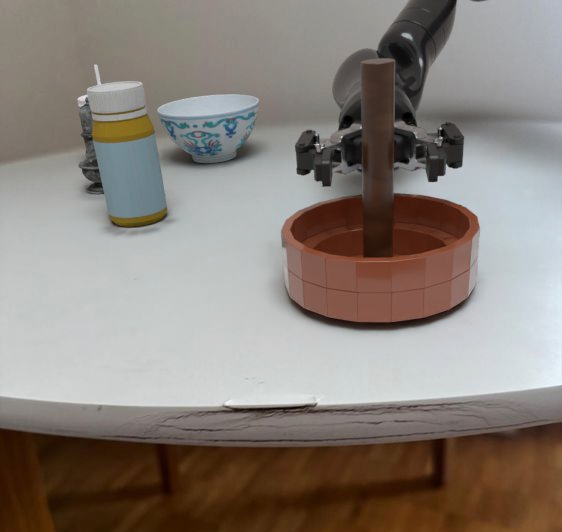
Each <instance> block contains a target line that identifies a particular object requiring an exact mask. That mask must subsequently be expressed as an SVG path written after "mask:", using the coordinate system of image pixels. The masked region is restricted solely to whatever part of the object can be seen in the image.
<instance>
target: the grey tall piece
mask: <svg viewBox="0 0 562 532" xmlns="http://www.w3.org/2000/svg"><path fill="white" fill-rule="evenodd" d="M85 101H86V104H84V105H83V106H82V107H79V109H78V116H79V120H80V125H81V130H82V132H81V133H80V137H81V138H82V139H83V142H84V146H85V159H84V160H82V161H80V162H79V163H78V168H79V169H81V172H82V174H83V176H84V177H85V179H86V180H88V181H89V182H92V183H90V184H89V185H88V187H86V189H85V191H86V193H88V194H90V195H91V194H92V195H104V190H103V186H102V181H101V176H100V172H99V167H98V162H97V157H96V153H95V148H94V143H93V137H92V129H93V118H92V111H91V109H90V105H89V100H88V98H87V97H86V98H85Z"/></svg>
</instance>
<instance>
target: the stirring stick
mask: <svg viewBox="0 0 562 532" xmlns="http://www.w3.org/2000/svg"><path fill="white" fill-rule="evenodd" d="M394 123H395V60H394V59H389V58H379V59H369V60H364V61H362V62H361V126H362V173H361V189H362V192H361V193H362V194H361V195H362V203H363V258H391V257H393V212H394V193H395V171H394Z"/></svg>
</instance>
